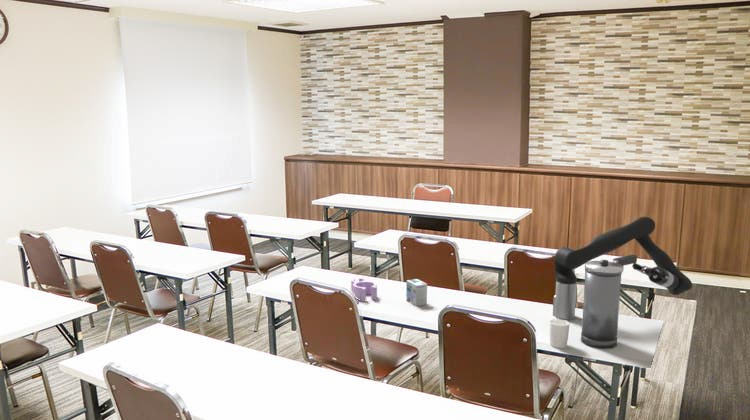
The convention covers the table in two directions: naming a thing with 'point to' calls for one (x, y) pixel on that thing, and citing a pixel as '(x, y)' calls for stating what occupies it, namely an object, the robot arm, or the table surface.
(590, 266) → the lid
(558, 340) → the white cup
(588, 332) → the canister
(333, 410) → the table surface
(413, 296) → the light bulb box
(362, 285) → the clip
